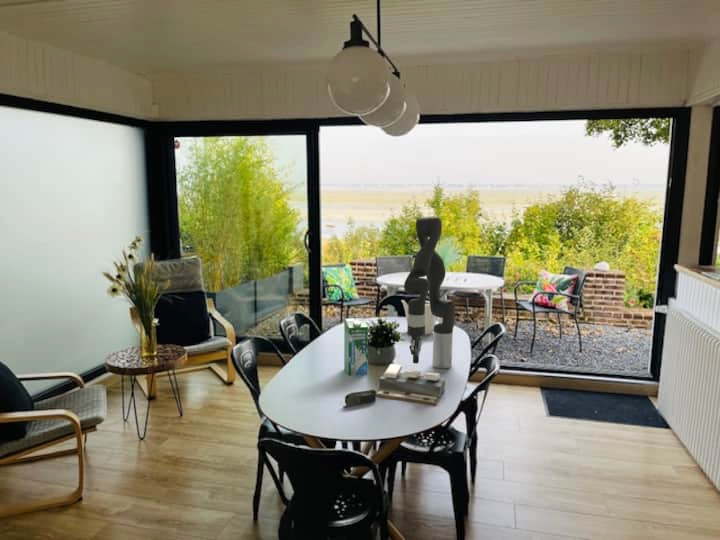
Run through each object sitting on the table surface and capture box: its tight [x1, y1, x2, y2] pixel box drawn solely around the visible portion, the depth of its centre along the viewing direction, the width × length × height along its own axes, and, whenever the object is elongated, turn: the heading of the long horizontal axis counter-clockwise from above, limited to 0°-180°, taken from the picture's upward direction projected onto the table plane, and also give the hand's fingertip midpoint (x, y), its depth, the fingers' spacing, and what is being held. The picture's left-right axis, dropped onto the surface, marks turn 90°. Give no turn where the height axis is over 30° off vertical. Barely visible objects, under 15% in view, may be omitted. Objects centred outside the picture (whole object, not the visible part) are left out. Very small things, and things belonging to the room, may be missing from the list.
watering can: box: [400, 299, 443, 335], centre depth 309 cm, size 16×27×19 cm, turn 62°
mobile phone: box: [342, 389, 377, 408], centre depth 204 cm, size 5×3×15 cm
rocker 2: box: [403, 369, 422, 378], centre depth 217 cm, size 9×5×2 cm, turn 159°
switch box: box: [376, 372, 446, 406], centre depth 215 cm, size 16×26×6 cm, turn 69°
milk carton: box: [343, 317, 369, 377], centre depth 239 cm, size 9×9×25 cm
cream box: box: [423, 371, 441, 381], centre depth 214 cm, size 9×5×3 cm, turn 159°
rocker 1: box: [383, 363, 403, 378], centre depth 220 cm, size 9×5×2 cm, turn 159°
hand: (415, 362), depth 220 cm, fingers closed
